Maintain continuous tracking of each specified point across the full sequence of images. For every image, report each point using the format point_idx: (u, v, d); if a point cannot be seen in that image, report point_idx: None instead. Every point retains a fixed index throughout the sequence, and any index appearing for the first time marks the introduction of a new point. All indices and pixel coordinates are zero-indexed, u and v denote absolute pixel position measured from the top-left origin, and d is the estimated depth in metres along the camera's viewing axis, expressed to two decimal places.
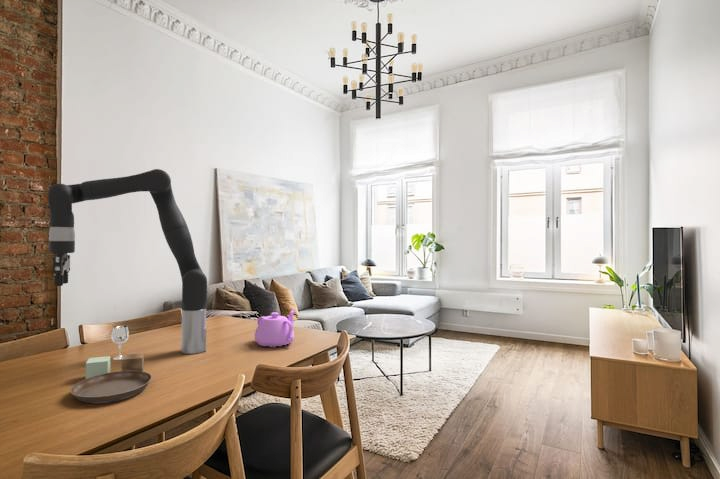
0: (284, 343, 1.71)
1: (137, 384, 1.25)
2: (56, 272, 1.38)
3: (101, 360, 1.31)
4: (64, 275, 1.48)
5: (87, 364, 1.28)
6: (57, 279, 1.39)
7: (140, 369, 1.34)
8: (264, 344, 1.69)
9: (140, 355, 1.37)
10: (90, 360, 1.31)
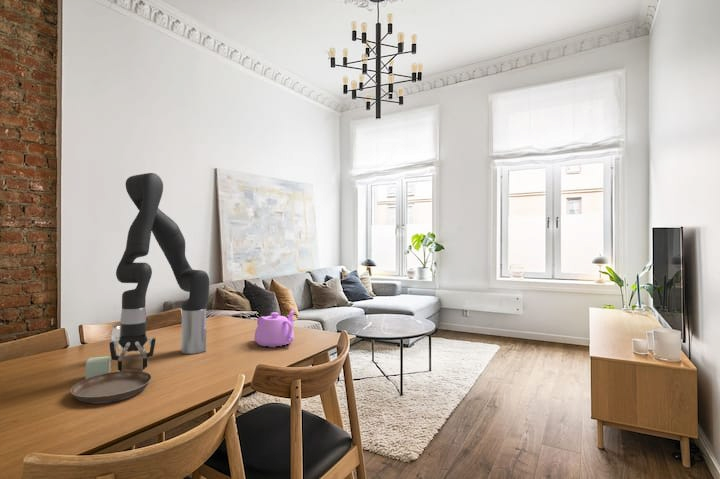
0: (284, 343, 1.71)
1: (137, 384, 1.25)
2: (152, 353, 1.38)
3: (101, 360, 1.31)
4: None
5: (87, 364, 1.28)
6: None
7: (140, 369, 1.34)
8: (264, 344, 1.69)
9: (140, 355, 1.37)
10: (90, 360, 1.31)
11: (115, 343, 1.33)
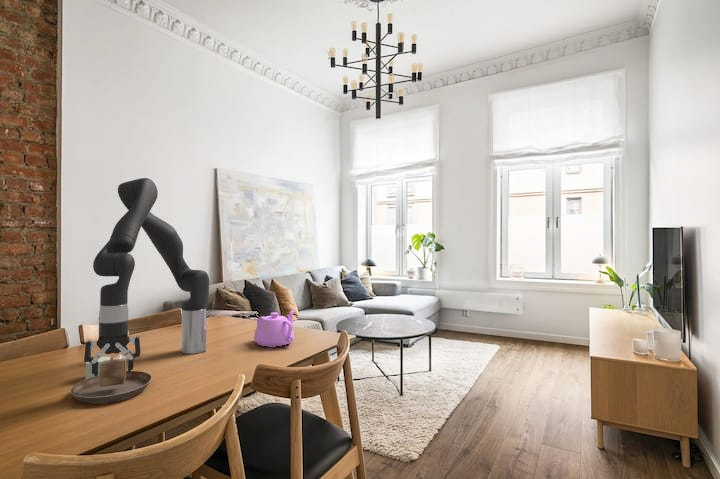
0: (284, 343, 1.71)
1: (137, 384, 1.25)
2: (139, 354, 1.23)
3: (101, 360, 1.31)
4: (97, 364, 1.18)
5: (87, 364, 1.28)
6: (133, 363, 1.22)
7: (121, 377, 1.18)
8: (264, 344, 1.69)
9: (121, 361, 1.21)
10: None
11: (92, 343, 1.17)
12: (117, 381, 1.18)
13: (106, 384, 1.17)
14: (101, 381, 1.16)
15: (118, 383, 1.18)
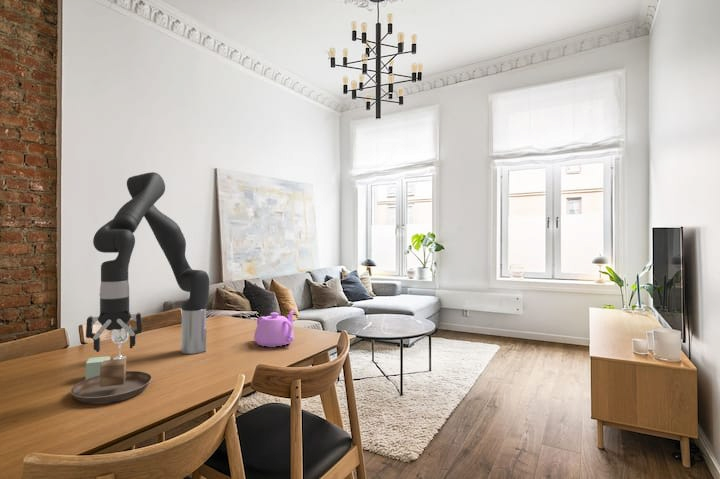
0: (284, 343, 1.71)
1: (137, 384, 1.25)
2: (141, 330, 1.23)
3: (101, 360, 1.31)
4: (99, 341, 1.18)
5: (87, 364, 1.28)
6: None
7: (121, 377, 1.18)
8: (264, 344, 1.69)
9: (122, 361, 1.21)
10: (90, 360, 1.31)
11: (94, 319, 1.17)
12: (117, 381, 1.18)
13: (106, 384, 1.16)
14: (101, 381, 1.16)
15: (118, 383, 1.18)
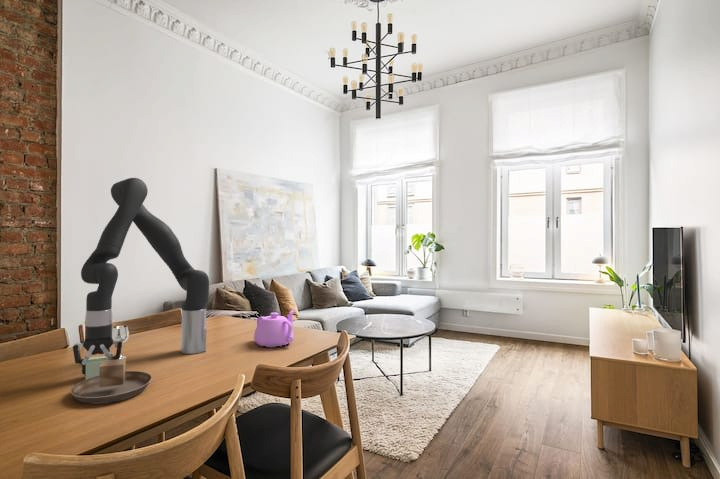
0: (283, 343, 1.70)
1: (137, 385, 1.25)
2: (119, 356, 1.34)
3: (101, 360, 1.31)
4: None
5: (87, 364, 1.28)
6: None
7: (121, 377, 1.18)
8: (263, 344, 1.69)
9: (121, 361, 1.21)
10: (90, 360, 1.31)
11: (79, 346, 1.29)
12: (117, 382, 1.18)
13: (106, 384, 1.16)
14: (101, 381, 1.16)
15: (118, 383, 1.18)
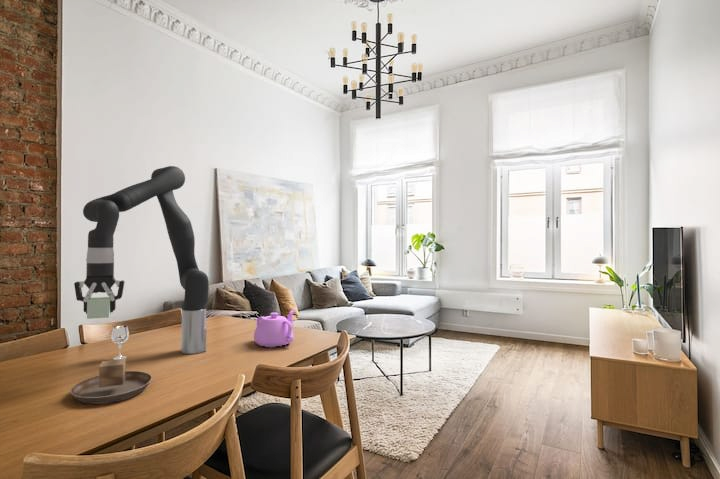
0: (283, 343, 1.70)
1: (137, 385, 1.25)
2: (121, 296, 1.33)
3: (103, 298, 1.30)
4: None
5: (88, 301, 1.27)
6: (115, 304, 1.32)
7: (120, 377, 1.18)
8: (263, 344, 1.69)
9: (121, 361, 1.21)
10: (91, 298, 1.29)
11: (81, 283, 1.28)
12: (116, 382, 1.18)
13: (105, 384, 1.16)
14: (100, 381, 1.16)
15: (117, 383, 1.18)
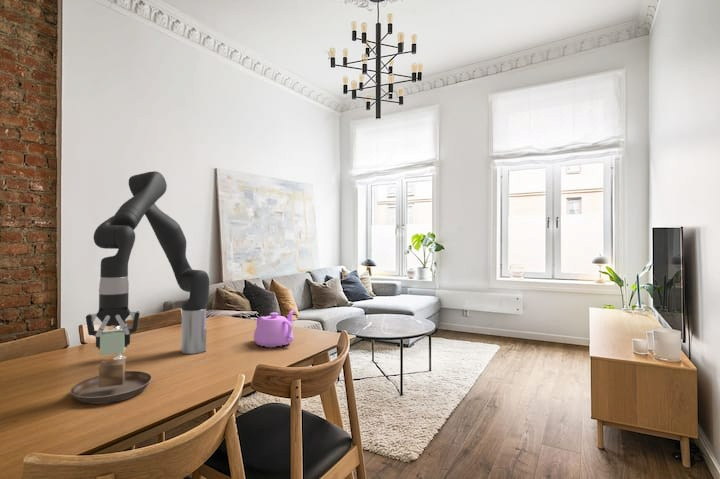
0: (283, 343, 1.70)
1: (137, 384, 1.25)
2: (136, 329, 1.22)
3: (117, 332, 1.19)
4: None
5: (101, 336, 1.16)
6: (129, 338, 1.21)
7: (120, 377, 1.18)
8: (263, 344, 1.69)
9: (121, 361, 1.20)
10: (104, 332, 1.19)
11: (93, 316, 1.17)
12: (116, 382, 1.17)
13: (105, 384, 1.16)
14: (100, 381, 1.16)
15: (117, 383, 1.18)
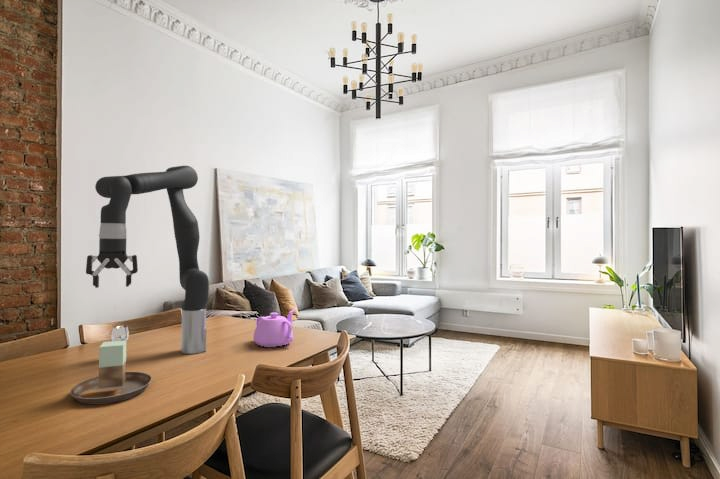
0: (283, 343, 1.70)
1: (137, 385, 1.25)
2: (137, 271, 1.33)
3: (116, 344, 1.19)
4: (98, 278, 1.29)
5: (101, 348, 1.16)
6: None
7: (120, 379, 1.18)
8: (263, 344, 1.69)
9: None
10: (104, 344, 1.19)
11: (93, 257, 1.28)
12: (116, 383, 1.17)
13: (105, 386, 1.16)
14: (100, 383, 1.16)
15: (117, 385, 1.17)
